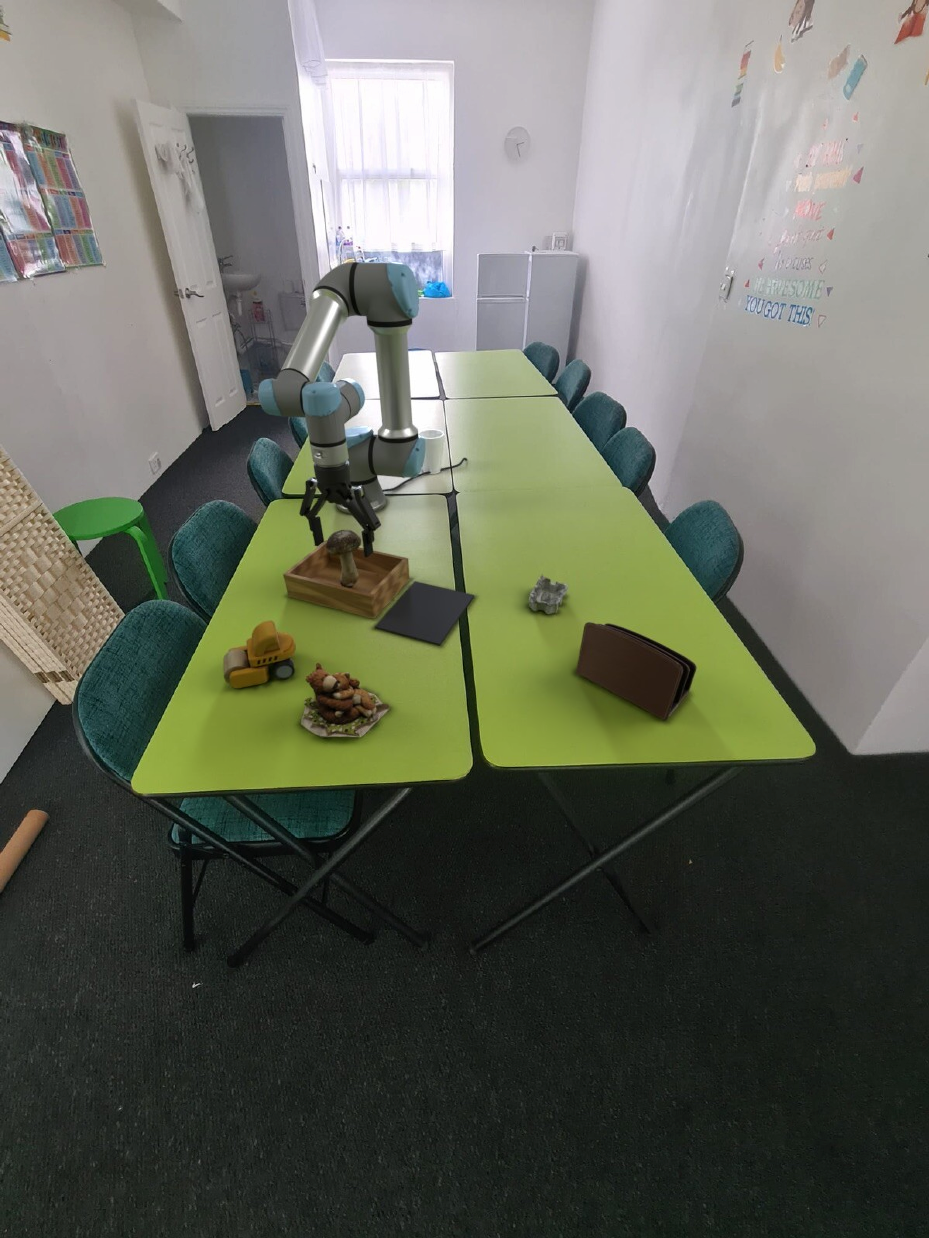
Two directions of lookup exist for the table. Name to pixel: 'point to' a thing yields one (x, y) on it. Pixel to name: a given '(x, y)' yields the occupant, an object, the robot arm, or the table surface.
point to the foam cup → (433, 450)
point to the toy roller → (260, 657)
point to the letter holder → (635, 668)
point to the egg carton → (547, 595)
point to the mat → (425, 613)
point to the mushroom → (345, 554)
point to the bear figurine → (340, 706)
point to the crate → (367, 596)
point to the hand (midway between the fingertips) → (343, 549)
